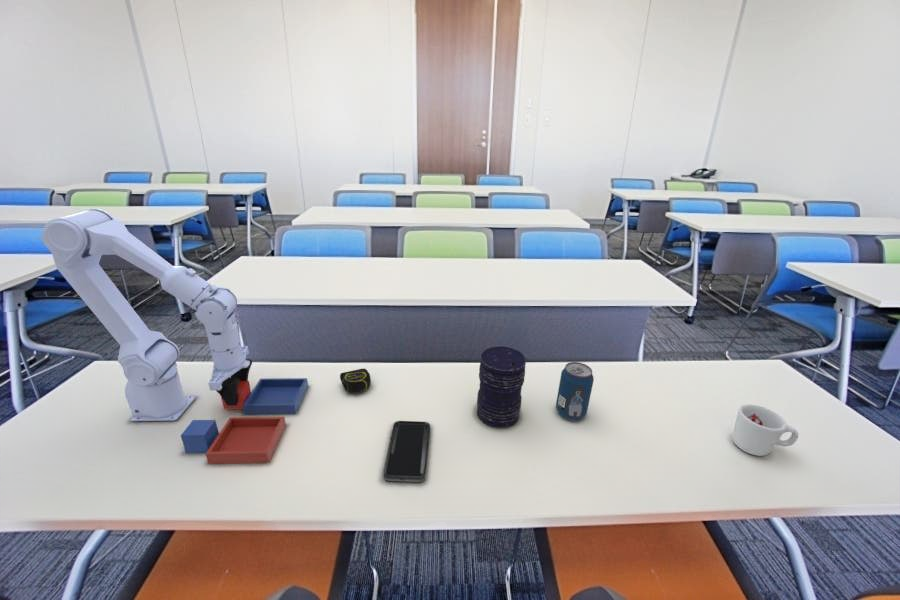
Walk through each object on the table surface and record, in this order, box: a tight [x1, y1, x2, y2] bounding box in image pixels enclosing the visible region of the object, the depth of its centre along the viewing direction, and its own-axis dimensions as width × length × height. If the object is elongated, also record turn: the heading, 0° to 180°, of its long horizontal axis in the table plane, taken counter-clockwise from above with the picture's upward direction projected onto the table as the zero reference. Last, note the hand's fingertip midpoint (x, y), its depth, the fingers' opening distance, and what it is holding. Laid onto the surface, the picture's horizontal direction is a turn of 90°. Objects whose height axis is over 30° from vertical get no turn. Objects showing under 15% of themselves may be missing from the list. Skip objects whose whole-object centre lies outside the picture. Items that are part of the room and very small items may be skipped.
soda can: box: [555, 361, 595, 422], centre depth 89 cm, size 7×7×12 cm
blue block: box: [180, 419, 220, 454], centre depth 79 cm, size 4×4×4 cm
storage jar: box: [476, 346, 527, 429], centre depth 88 cm, size 10×10×15 cm
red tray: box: [205, 416, 287, 465], centre depth 80 cm, size 11×10×2 cm
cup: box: [732, 403, 799, 457], centre depth 82 cm, size 11×8×8 cm
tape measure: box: [339, 368, 372, 394], centre depth 97 cm, size 7×7×4 cm
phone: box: [382, 420, 431, 483], centre depth 79 cm, size 8×1×15 cm
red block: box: [220, 380, 252, 410], centre depth 89 cm, size 4×4×4 cm
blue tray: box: [242, 377, 309, 416], centre depth 92 cm, size 11×10×2 cm
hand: (237, 397), depth 90 cm, fingers closed on red block, 4 cm apart
